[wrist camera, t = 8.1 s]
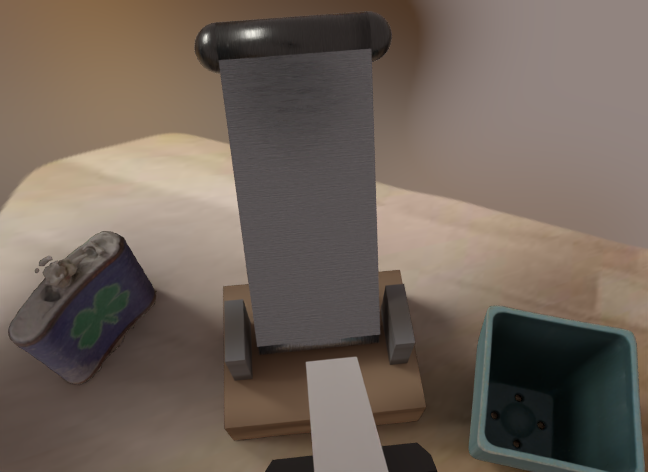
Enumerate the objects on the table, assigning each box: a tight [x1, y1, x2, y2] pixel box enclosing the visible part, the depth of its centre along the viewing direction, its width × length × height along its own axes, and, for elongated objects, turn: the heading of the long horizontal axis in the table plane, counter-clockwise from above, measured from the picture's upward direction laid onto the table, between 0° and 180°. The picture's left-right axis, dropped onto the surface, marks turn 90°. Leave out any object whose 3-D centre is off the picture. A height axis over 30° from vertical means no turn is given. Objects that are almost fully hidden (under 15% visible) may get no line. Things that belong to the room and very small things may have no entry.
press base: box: [223, 270, 426, 440], centre depth 38 cm, size 10×13×8 cm
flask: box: [8, 231, 156, 385], centre depth 38 cm, size 9×3×11 cm, turn 148°
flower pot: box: [469, 306, 645, 472], centre depth 35 cm, size 9×9×9 cm
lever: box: [195, 11, 392, 355], centre depth 33 cm, size 3×11×21 cm
